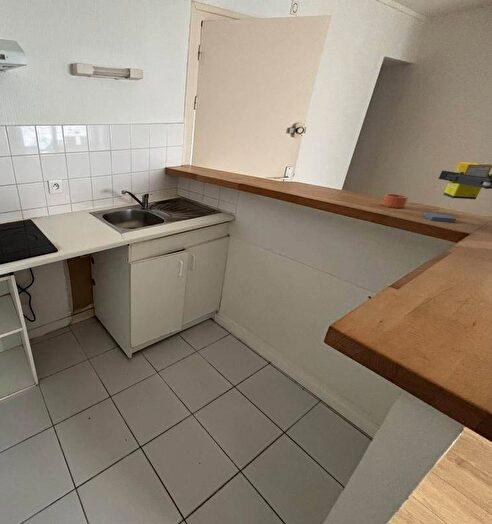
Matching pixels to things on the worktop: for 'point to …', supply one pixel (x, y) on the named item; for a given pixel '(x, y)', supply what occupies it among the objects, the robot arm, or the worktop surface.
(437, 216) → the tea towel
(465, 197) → the supplement box
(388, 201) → the ramekin
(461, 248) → the worktop surface
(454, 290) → the worktop surface
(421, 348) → the worktop surface
